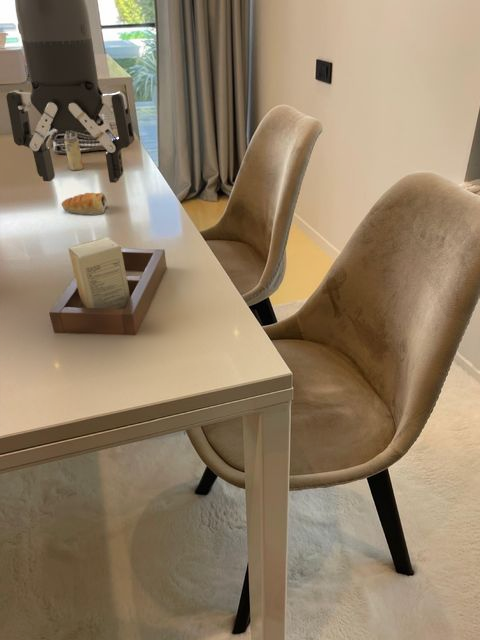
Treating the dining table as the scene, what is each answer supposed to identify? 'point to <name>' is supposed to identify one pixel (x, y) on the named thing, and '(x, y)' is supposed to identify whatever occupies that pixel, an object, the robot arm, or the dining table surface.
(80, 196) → the pastry
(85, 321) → the stand
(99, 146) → the towel
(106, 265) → the cosmetic box
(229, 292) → the dining table surface
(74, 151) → the pale yellow bottle
